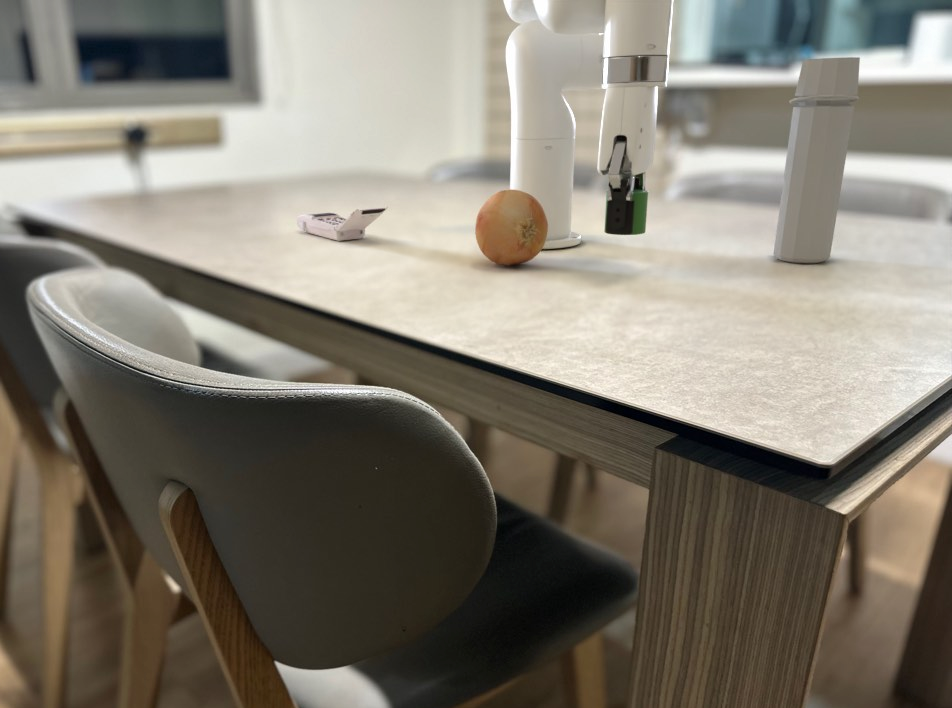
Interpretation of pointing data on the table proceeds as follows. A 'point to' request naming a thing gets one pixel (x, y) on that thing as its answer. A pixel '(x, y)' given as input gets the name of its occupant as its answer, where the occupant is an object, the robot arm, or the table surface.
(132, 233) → the table surface
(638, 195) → the green cylinder with nub
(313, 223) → the mobile phone
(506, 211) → the onion
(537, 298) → the table surface
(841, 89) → the water bottle
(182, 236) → the table surface
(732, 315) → the table surface
